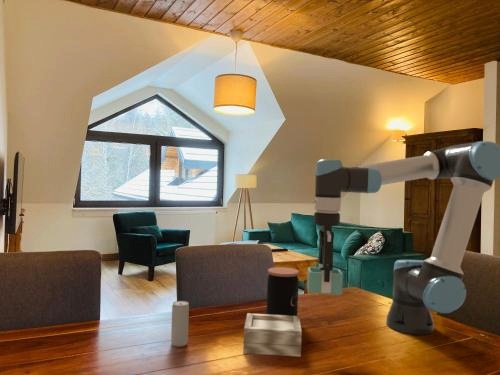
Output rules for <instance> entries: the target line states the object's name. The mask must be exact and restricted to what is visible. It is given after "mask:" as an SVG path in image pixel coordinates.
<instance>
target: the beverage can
mask: <svg viewBox="0 0 500 375" xmlns="http://www.w3.org/2000/svg"><path fill="white" fill-rule="evenodd" d="M189 311H190V304H189V302H188V301H186V300H176V301H174V302H172V307H171V338H170V340H171V345H172V346H173V347H178V348H181V347H185V346H186V345H187V344H188V342H189V318H190V317H189V315H190V314H189V313H190V312H189Z"/></svg>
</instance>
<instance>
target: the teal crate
mask: <svg viewBox="0 0 500 375" xmlns="http://www.w3.org/2000/svg"><path fill="white" fill-rule="evenodd" d="M306 274H307V277H306V278H307V279H306V289H307V292H308V294H320V295H332V296H333V295H335V296H342V295H343V280H344V274H343V272H342V271H341V269H339V268H333V270H332V274H331V293H321V278H322V270H320V268H319V267H311V266H310V267H309V266H308V267H307V273H306Z"/></svg>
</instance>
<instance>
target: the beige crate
mask: <svg viewBox="0 0 500 375" xmlns="http://www.w3.org/2000/svg"><path fill="white" fill-rule="evenodd" d="M302 336H303V335H302V326H301V320H300V316H299V315H297V316H288V315H270V314H266V313H250V312H247V314H246V319H245V323H244V327H243V350H242V351H243V352H242V353H243V354H254V355H267V356H268V355H270V356H285V357H287V356H288V357H300V358H301V357H302Z"/></svg>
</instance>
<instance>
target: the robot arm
mask: <svg viewBox="0 0 500 375" xmlns="http://www.w3.org/2000/svg"><path fill="white" fill-rule="evenodd" d="M315 166H316V167H315V174H314V176H315V185H314V186H315V187H314V188H315V189H314V190H315V192H314V194H315V195H314V199H313V200H312V203H313V204H314V210H315V212H314V214H313V215H314V216H313V223H314V225H316V226H321V228H320V229H319V230H318V237H319V239H318V242H319V243H318V257H317V259H318V263H319V264H318V268H320V270H322V278H321V293H331V274H332V270H333V269H334V241H335V232H333V227H338V226H340V224H341V214H340V211H341V204H342V203H341V202H342V193H357V194H367V195H368V194H376V193H378V192H379V191H380V189H381V187H382V186H383V185H389V184H396V183H402V182H407V181H408V182H409V181H414V180H419V179H425V178H426V179H428V180H438V179H450V181H451V183H452V184H453V188H452V190H451V192H450V197H449V199H448V202H447V206H446V209H445V212H444V215H443V218H442V220H441V224H440V228H439V230H438V233H437V237H436V239H435V242H434V245H433V249H432V252H431V255H430V257H429V258H426V259H424V260H420V259H397V260H396V261H395V262H394V265H393V270H392V271H393V279H392V280H393V281H392V282H393V284H392V302H391V305H390V308H389V310H388V313H387V315H386V320H385V321H386V326H388V327H389V328H390V329H391V330H393V331H397V332H399V333H404V334H409V335H416V336H418V335H430V334H432V333H434V329H435V328H434V326H435V325H434V324H435V323H434V321H433V316H432V313H431V311H435V312H437V313H440V314H450V313H452V312H454V311H456V310H458V309H459V308H460V307H462V305H463V304H464V302H465V300H466V297H467V289H466V286H465V283H464V282H463V281H462V280H463V279H464V278H463V277H464V271H463V270H462V267H461V265H462V262H463V259H464V256H465V253H466V250H467V247H468V243H469V240H470V238H471V237H470V236H471V235H472V230H473V229H474V228H473V227H474V225H475V222H476V219H477V216H478V212H479V209H480V206H481V203H482V201H483V200H482V199H483V196H484V194H485V193H486V192H487V191H490V190H492V187H493V184H494V181H495V180H497V179H500V145H499V144H498V143H496V142H493V141H483V140H480V141H475V142H469V143H459V144H453V145H450V146H447V147H443V148H440V149H436V150H432V151H426V152H425V153H424V154H423V155H419V156H418V155H417V156H412V157H405V158H400V159H395V160H394V159H393V160H389V161H388V160H386V161H383V162H376V163H371V164H370V163H369V164H364V165H363V164H362V165H358V166H352V167H347V166H344V165H343V162H342V160H341V159H328V158H327V159H323V158H322V159H318V161H317V162H316V164H315ZM430 310H431V311H430Z"/></svg>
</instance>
